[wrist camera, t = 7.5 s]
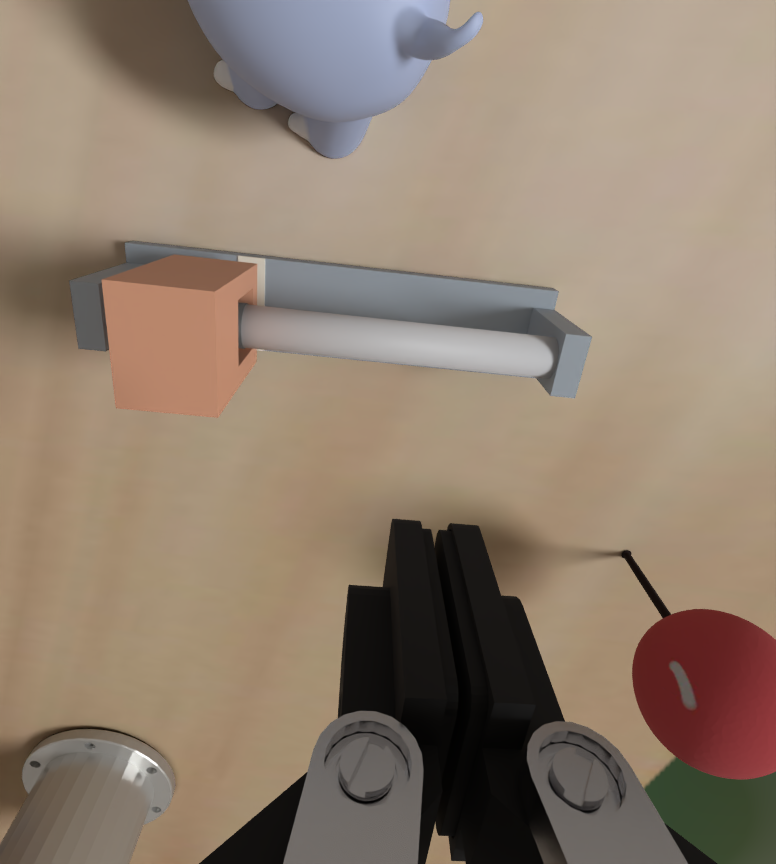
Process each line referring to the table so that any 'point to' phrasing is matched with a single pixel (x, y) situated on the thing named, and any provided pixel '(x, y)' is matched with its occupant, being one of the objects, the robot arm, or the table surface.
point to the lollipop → (708, 688)
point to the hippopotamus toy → (328, 58)
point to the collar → (178, 334)
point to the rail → (378, 317)
